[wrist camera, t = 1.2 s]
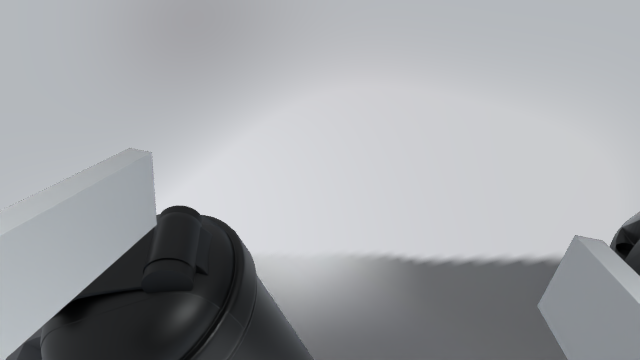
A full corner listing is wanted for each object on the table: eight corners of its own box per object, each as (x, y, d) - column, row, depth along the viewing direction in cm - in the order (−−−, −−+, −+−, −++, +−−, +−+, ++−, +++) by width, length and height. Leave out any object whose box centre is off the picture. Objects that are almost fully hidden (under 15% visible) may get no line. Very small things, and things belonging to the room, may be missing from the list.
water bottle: (231, 365, 34) (46, 210, 19) (330, 335, 33) (218, 150, 19) (226, 504, 26) (-91, 423, 11) (356, 468, 26) (197, 334, 11)
